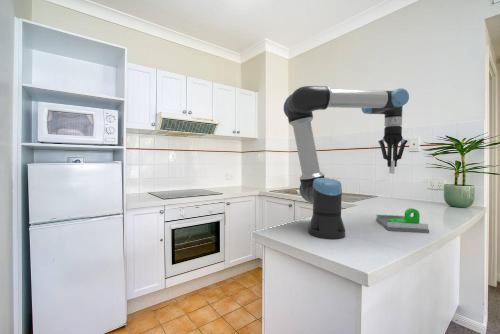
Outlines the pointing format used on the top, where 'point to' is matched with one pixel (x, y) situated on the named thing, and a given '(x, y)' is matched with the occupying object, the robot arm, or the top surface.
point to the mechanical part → (408, 217)
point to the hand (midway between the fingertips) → (391, 173)
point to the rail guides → (401, 225)
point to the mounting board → (384, 224)
